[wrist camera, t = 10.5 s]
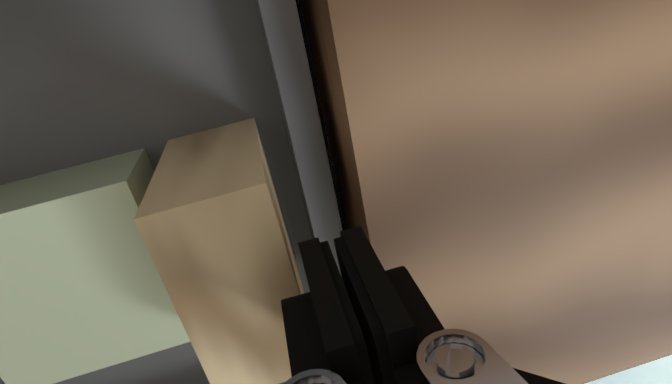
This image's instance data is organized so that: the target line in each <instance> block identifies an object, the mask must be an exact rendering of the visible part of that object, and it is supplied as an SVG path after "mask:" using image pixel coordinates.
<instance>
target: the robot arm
mask: <svg viewBox="0 0 672 384" xmlns="http://www.w3.org/2000/svg"><path fill="white" fill-rule="evenodd" d="M340 236H341V237H339V238H335V239H334V244H335V249H336V253H337V258H338V263H339V267H340V272H341V275H340V272H339V270H338V267H337V264H336V262H335V259H334V256H333V254H332V251H331V248H330V246H329V243H328V241H324V242H320V241H319V239H318V237H317V238H314V239H310V240H306V241H302V242H299V243H298V245H299V249H300V253H301V257H302V261H303V265H304V269H305V273H306V277H307V281H308V285H309V289H310V292H307V293H304V294H300V295H297V296H293V297H289V298H286V299H282V300H281V307H282V314H283V321H284V328H285V335H286V342H287V348H288V355H289V362H290V369H291V376H292V377H291V378H289V379H288V380H287V381H286V382H285V383H284V384H565V383H562V382H558V381H555V380H552V379H548V378H545V377H542V376H539V375H535V374H532V373H529V372H525V371H522V370H519V369H516V368H512V367H511V366H510V365H509V364H508V363H507V362H506V361H505V360H504V359H503V358H502V357H501V356H500V355H499V354H498V353H497V352H496V351H495V350H494V349H493V348H492V347H491V346H490V345H489V344H488V343H487V342H486V341H485V340H484V339H483V338H481V337H480V336H479V335H477V334H475V333H472V332H470V331H467V330H462V329H444V327H443V325H442V324H441V322H440V321H439V319H438V318H437V316H436V314H435V313H434V311H433V310H432V308H431V306H430V305H429V303H428V302H427V300H426V299H425V297H424V295H423V294H422V292H421V291H420V289H419V287H418V286H417V284H416V283H415V281H414V280H413V278H412V276H411V275H410V273H409V272H408V270H407V269H406V267H405V266H400V267H396V268H393V269H389V270H386V271H385V270H384V268H383V266H382V264H381V262H380V260H379V259H378V257H377V255H376V253H375V251H374V249H373V248H372V246H371V244H370V242H369V240H368V239H367V237H366V235H365V233H364V231H363V229H362V228H361V226H358V227H355V228H351V229H347V230H343V231H340ZM341 276H342V277H341Z"/></svg>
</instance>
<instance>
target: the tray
mask: <svg viewBox="0 0 672 384" xmlns="http://www.w3.org/2000/svg"><path fill="white" fill-rule="evenodd" d="M252 118H255V122H256V125H257V129H258V132H259V135H260V139H261V142H262V146H263V149H264V152H265V156H266V159H267V163H268V166H269V170H270V173H271V176H272V180H273V183H274V187H275V190H276V193H277V197H278V200H279V204H280V207H281V210H282V214H283V217H284V221H285V224H286V227H287V231H288V234H289V238H290V241H291V244H292V248H293V251H294V255H295V258H296V262H297V266H298V270H299V275H300V279H301V283H302V287H303V291H304V293H307V292H310V289H309V285H308V281H307V277H306V273H305V269H304V265H303V261H302V257H301V253H300V249H299V245H298V243H299V242H302V241H306V240H310V239H314V238H317V237H318V239H319V241H320V242H324V241H328V243H329V246H330V248H331V251H332V254H333V256H334V259H335V262H336V264H337V267H338V270H339V272H340V267H339V263H338V258H337V253H336V249H335V244H334V239H335V238H339V237H341V236H340V231H343V229H342V224H341V220H340V215H339V210H338V205H337V200H336V195H335V190H334V185H333V181H332V176H331V171H330V166H329V161H328V156H327V151H326V147H325V142H324V137H323V132H322V127H321V122H320V117H319V113H318V108H317V103H316V98H315V93H314V88H313V83H312V78H311V74H310V69H309V64H308V59H307V54H306V49H305V44H304V40H303V35H302V30H301V25H300V20H299V15H298V10H297V6H296V1H295V0H0V185H3V184H7V183H11V182H15V181H19V180H23V179H27V178H30V177H34V176H38V175H42V174H46V173H50V172H54V171H57V170H61V169H65V168H69V167H73V166H77V165H81V164H84V163H88V162H92V161H96V160H100V159H104V158H108V157H111V156H115V155H119V154H123V153H127V152H131V151H134V150H138V149H142V148H145V150H146V152H147V155H148V157H149V160H150V162H151V164H152V167H153V169H154V172H155V169H156V167H157V165H158V162H159V160H160V158H161V155H162V153H163V151H164V148H165V146H166V144H167V142H168V140H170V139H174V138H178V137H182V136H186V135H190V134H194V133H197V132H201V131H205V130H209V129H213V128H217V127H221V126H225V125H228V124H232V123H236V122H240V121H244V120H248V119H252ZM340 275H341V272H340ZM341 277H342V276H341ZM285 382H286V381H285ZM285 382H282V383H279V384H284V383H285ZM0 384H5V383H4V381H3V380H2V379H1V377H0ZM54 384H210V383H209V380H208V378H207V376H206V374H205V372H204V370H203V368H202V365H201V363H200V361H199V359H198V357H197V355H196V352H195V350H194V348H193V346H192V344H191V342H187V343H184V344H181V345H178V346H174V347H171V348H168V349H165V350H161V351H158V352H155V353H151V354H148V355H145V356H142V357H138V358H135V359H132V360H129V361H125V362H122V363H119V364H116V365H112V366H109V367H106V368H103V369H99V370H96V371H93V372H90V373H86V374H83V375H80V376H76V377H73V378H70V379H67V380H63V381H60V382H57V383H54Z"/></svg>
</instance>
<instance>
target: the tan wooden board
mask: <svg viewBox="0 0 672 384" xmlns="http://www.w3.org/2000/svg"><path fill="white" fill-rule="evenodd" d="M299 1H300V6H301V11H302V15H303V20H304V25H305V30H306V35H307V40H308V45H309V50H310V55H311V60H312V65H313V70H314V75H315V80H316V85H317V90H318V95H319V100H320V105H321V110H322V114H323V119H324V124H325V129H326V134H327V139H328V144H329V149H330V154H331V159H332V164H333V169H334V174H335V179H336V184H337V189H338V194H339V199H340V204H341V209H342V213H343V218H344V223H345V228H346V230H347V229H351V228H355V227H358V226H361V228H362V229H363V231H364V233H365V235H366V237H367V239H368V240H369V242H370V244H371V246H372V248H373V249H374V251H375V253H376V255H377V257H378V259H379V260H380V262H381V264H382V266H383V268H384V270H385V271H386V270H389V269H393V268H396V267H400V266H405V267H406V269H407V270H408V272H409V273H410V275H411V276H412V278H413V280H414V281H415V283H416V284H417V286H418V287H419V289H420V291H421V292H422V294H423V295H424V297H425V299H426V300H427V302H428V303H429V305H430V306H431V308H432V310H433V311H434V313H435V314H436V316H437V318H438V319H439V321H440V322H441V324H442V325H443V327H444V329H462V330H467V331H470V332H472V333H475V334H477V335H479V336H480V337H481V338H483V339H484V340H485V341H486V342H487V343H488V344H489V345H490V346H491V347H492V348H493V349H494V350H495V351H496V352H497V353H498V354H499V355H500V356H501V357H502V358H503V359H504V360H505V361H506V362H507V363H508V364H509V365H510V366H511V367H512V368H516V369H519V370H522V371H525V372H529V373H532V374H535V375H539V376H542V377H545V378H548V379H552V380H555V381H558V382H562V383H565V384H584V383H587V382H590V381H593V380H596V379H599V378H602V377H605V376H608V375H611V374H614V373H617V372H620V371H623V370H626V369H630V368H633V367H636V366H639V365H642V364H645V363H648V362H651V361H654V360H657V359H660V358H663V357H666V356H669V355H672V0H299Z"/></svg>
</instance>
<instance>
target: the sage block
mask: <svg viewBox="0 0 672 384" xmlns="http://www.w3.org/2000/svg"><path fill="white" fill-rule="evenodd" d="M153 174H154V169H153V167H152V164H151V162H150V160H149V157H148V155H147V152H146V150H145V148H142V149H138V150H134V151H131V152H127V153H123V154H119V155H115V156H111V157H108V158H104V159H100V160H96V161H92V162H88V163H84V164H81V165H77V166H73V167H69V168H65V169H61V170H57V171H54V172H50V173H46V174H42V175H38V176H34V177H30V178H27V179H23V180H19V181H15V182H11V183H7V184H3V185H0V377H1V379H2V380H3V381H4V383H5V384H54V383H57V382H60V381H63V380H67V379H70V378H73V377H76V376H80V375H83V374H86V373H90V372H93V371H96V370H99V369H103V368H106V367H109V366H112V365H116V364H119V363H122V362H125V361H129V360H132V359H135V358H138V357H142V356H145V355H148V354H151V353H155V352H158V351H161V350H165V349H168V348H171V347H174V346H178V345H181V344H184V343H187V342H190V339H189V337H188V335H187V333H186V331H185V329H184V327H183V324H182V322H181V320H180V318H179V316H178V314H177V311H176V309H175V307H174V305H173V303H172V301H171V299H170V296H169V294H168V292H167V290H166V288H165V286H164V283H163V281H162V279H161V277H160V275H159V273H158V270H157V268H156V266H155V264H154V262H153V260H152V258H151V255H150V253H149V251H148V249H147V247H146V245H145V242H144V240H143V238H142V236H141V234H140V232H139V230H138V227H137V225H136V223H135V221H134V218H135V215H136V213H137V211H138V208H139V206H140V204H141V202H142V199H143V197H144V195H145V192H146V190H147V188H148V185H149V183H150V181H151V178H152V176H153Z"/></svg>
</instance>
